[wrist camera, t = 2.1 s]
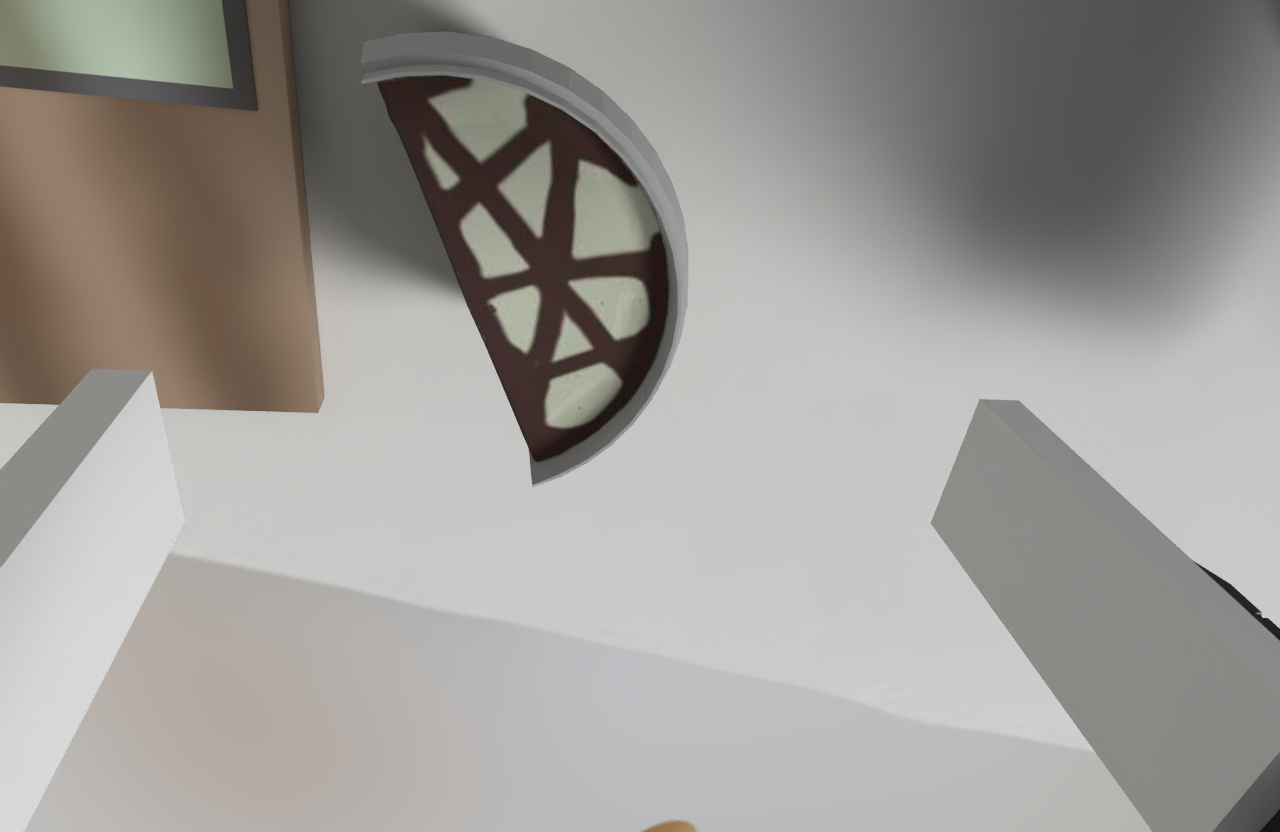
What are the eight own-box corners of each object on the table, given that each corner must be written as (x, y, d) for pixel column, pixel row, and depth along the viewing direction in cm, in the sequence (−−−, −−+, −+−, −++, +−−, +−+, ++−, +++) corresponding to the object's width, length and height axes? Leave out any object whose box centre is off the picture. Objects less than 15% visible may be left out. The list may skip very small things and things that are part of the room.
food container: (679, 301, 31) (743, 441, 23) (530, 346, 31) (539, 501, 23) (592, -49, 25) (636, -35, 16) (403, 9, 25) (349, 53, 16)
